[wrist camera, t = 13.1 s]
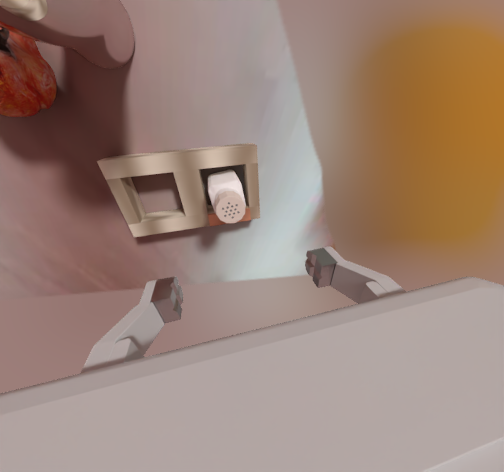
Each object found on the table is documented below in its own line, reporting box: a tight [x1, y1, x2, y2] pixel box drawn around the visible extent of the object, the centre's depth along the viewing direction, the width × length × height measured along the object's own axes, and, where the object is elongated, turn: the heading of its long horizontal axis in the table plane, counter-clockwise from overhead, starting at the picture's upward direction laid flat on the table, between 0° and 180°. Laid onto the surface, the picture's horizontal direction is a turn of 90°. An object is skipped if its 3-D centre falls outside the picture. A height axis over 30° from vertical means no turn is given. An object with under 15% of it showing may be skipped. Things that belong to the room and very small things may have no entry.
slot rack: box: [97, 143, 260, 237], centre depth 25 cm, size 18×10×3 cm, turn 94°
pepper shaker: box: [208, 169, 246, 223], centre depth 23 cm, size 4×4×10 cm
